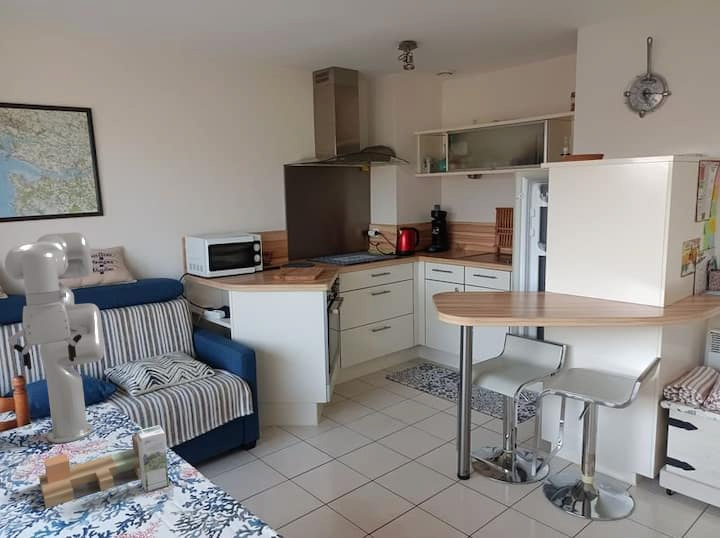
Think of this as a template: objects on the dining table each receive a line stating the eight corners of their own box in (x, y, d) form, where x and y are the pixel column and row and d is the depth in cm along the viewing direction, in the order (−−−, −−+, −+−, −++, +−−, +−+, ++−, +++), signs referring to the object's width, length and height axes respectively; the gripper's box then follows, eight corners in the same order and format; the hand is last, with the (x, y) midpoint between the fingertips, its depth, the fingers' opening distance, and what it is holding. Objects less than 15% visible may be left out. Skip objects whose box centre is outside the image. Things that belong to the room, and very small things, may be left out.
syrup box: (164, 476, 140) (159, 423, 138) (169, 486, 135) (164, 431, 133) (141, 483, 137) (135, 429, 135) (146, 493, 132) (140, 437, 130)
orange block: (46, 475, 138) (44, 459, 138) (68, 469, 141) (66, 453, 140) (48, 483, 134) (46, 466, 134) (70, 477, 137) (69, 460, 136)
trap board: (40, 484, 139) (37, 460, 138) (137, 456, 153) (135, 434, 152) (45, 508, 127) (42, 482, 127) (150, 475, 141) (148, 451, 140)
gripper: (78, 293, 146) (84, 355, 148) (2, 302, 136) (10, 368, 137) (83, 295, 140) (90, 360, 142) (4, 305, 130) (12, 374, 131)
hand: (51, 364), depth 140 cm, fingers open, 9 cm apart
